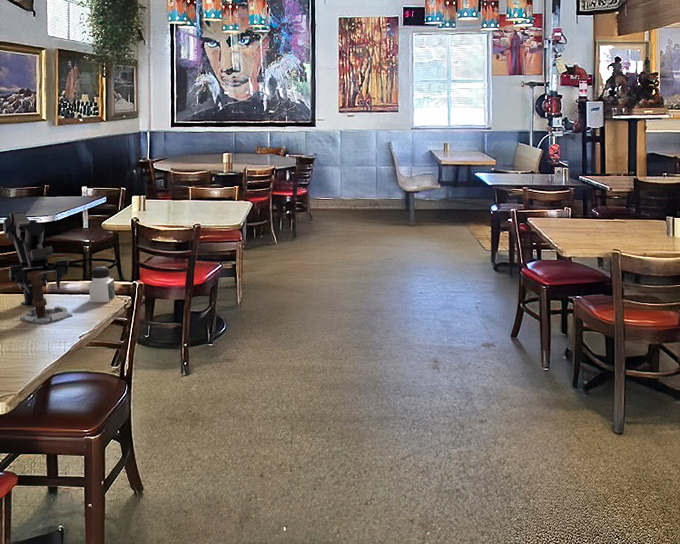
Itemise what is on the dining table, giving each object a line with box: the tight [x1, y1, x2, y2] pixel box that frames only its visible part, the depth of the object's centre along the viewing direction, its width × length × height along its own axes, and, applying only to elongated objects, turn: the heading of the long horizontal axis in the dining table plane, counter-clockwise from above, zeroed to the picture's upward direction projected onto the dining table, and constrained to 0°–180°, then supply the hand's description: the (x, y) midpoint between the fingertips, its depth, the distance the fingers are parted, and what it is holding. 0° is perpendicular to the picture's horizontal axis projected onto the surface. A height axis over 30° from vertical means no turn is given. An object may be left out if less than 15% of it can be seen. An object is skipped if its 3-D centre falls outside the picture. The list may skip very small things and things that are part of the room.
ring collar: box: [19, 305, 73, 326], centre depth 272 cm, size 13×13×2 cm
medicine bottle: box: [88, 266, 116, 303], centre depth 292 cm, size 7×7×12 cm
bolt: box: [27, 271, 48, 316], centre depth 270 cm, size 6×5×15 cm
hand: (44, 290), depth 268 cm, fingers open, 9 cm apart
